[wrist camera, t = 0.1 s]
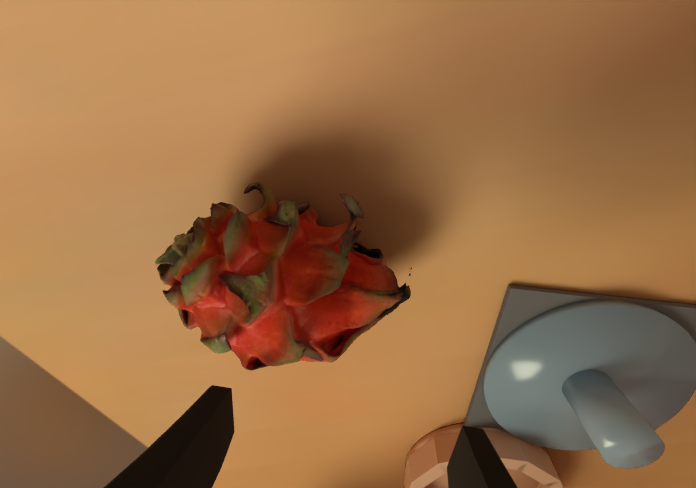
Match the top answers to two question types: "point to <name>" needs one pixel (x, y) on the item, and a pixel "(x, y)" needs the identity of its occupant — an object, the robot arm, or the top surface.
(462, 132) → the top surface
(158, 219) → the top surface
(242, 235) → the dragon fruit
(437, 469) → the bowl
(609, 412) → the lid
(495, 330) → the mat
